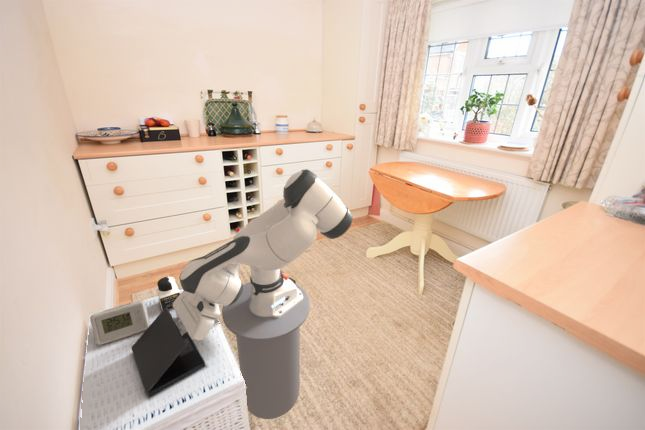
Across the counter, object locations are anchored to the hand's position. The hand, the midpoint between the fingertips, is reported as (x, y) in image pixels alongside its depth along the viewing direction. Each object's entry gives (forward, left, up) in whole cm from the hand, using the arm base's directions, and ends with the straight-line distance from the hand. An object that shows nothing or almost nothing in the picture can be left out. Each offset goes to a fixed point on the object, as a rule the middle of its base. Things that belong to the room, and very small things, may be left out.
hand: (176, 335), depth 93 cm
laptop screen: (+5, -1, -2) cm, 6 cm away
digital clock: (+12, -22, -9) cm, 26 cm away
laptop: (+3, -1, -9) cm, 9 cm away
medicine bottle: (-5, -28, -9) cm, 29 cm away
